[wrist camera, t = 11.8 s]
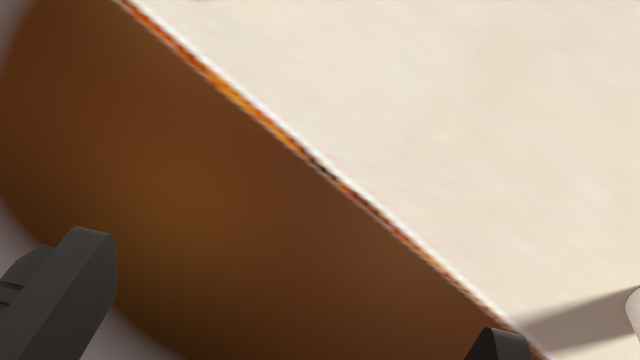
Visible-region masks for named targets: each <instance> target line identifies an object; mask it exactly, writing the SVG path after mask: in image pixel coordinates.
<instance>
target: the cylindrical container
mask: <svg viewBox="0 0 640 360" xmlns="http://www.w3.org/2000/svg"><path fill="white" fill-rule="evenodd" d="M625 310H626V314H627V316H628V318H629V320H630V322H631V325H632V327H633V329H634V331H635V333H636V336H637V338H638V340H639V342H640V287H639V288H638V289H636V290H635V291H634V292H633V293H632V294H631V295H630V296H629V298H628V299H627V301H626V304H625Z"/></svg>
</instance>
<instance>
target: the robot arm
mask: <svg viewBox="0 0 640 360" xmlns="http://www.w3.org/2000/svg"><path fill="white" fill-rule="evenodd" d="M116 287H117V273H116V253H115V239H114V236H113V235H112V234H108V233H104V232H99V231H95V230H91V229H87V228H83V227H79V226H76V227H74V228H72V229H71V230H70V231H69V232H68V233H67V234H66V236H65V237H64V238H63V239H62V240H61V242H60V243H59V244H58V245H57V247H56V248H54V247H50V246H46V245H41V246H39V247H37V248H36V249H34V250H32V251H31V252H29V253H27V254H26V255H24V256H23V257H21V258H19V259H18V260H16V261H15V263H14V264H13V265H12V266H11V267H10V268H9V269H8V271H7V272H6V273H5V274H4V275H3V277H2V278H1V279H0V360H79V359H80V358H81V356H82V354H83V353H84V351H85V349H86V348H87V346H88V344H89V343H90V341H91V339H92V337H93V336H94V334H95V332H96V331H97V329H98V328H99V326H100V324H101V322H102V321H103V319H104V318H105V316H106V314H107V312H108V311H109V309H110V307H111V304H112V302H113V299H114V296H115V292H116ZM464 360H531V356H530V351H529V347H528V344H527V341H526V339H525V337H524V336H522V335H519V334H515V333H511V332H507V331H503V330H498V329H495V328H490V327H486V328H484V329H483V330H482V332H481V333H480V335H479V337H478V338H477V340H476V341H475V343H474V344H473V346H472V348H471V349H470V351H469V352H468V354H467V356H466V357H465V359H464Z"/></svg>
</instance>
